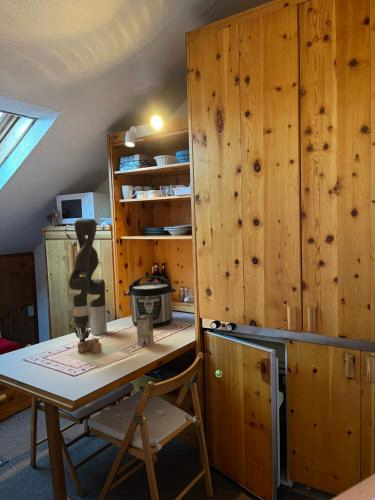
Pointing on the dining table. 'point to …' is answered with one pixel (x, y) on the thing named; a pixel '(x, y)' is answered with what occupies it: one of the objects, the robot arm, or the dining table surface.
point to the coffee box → (145, 330)
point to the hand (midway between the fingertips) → (82, 345)
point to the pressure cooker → (151, 300)
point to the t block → (90, 346)
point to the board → (102, 355)
